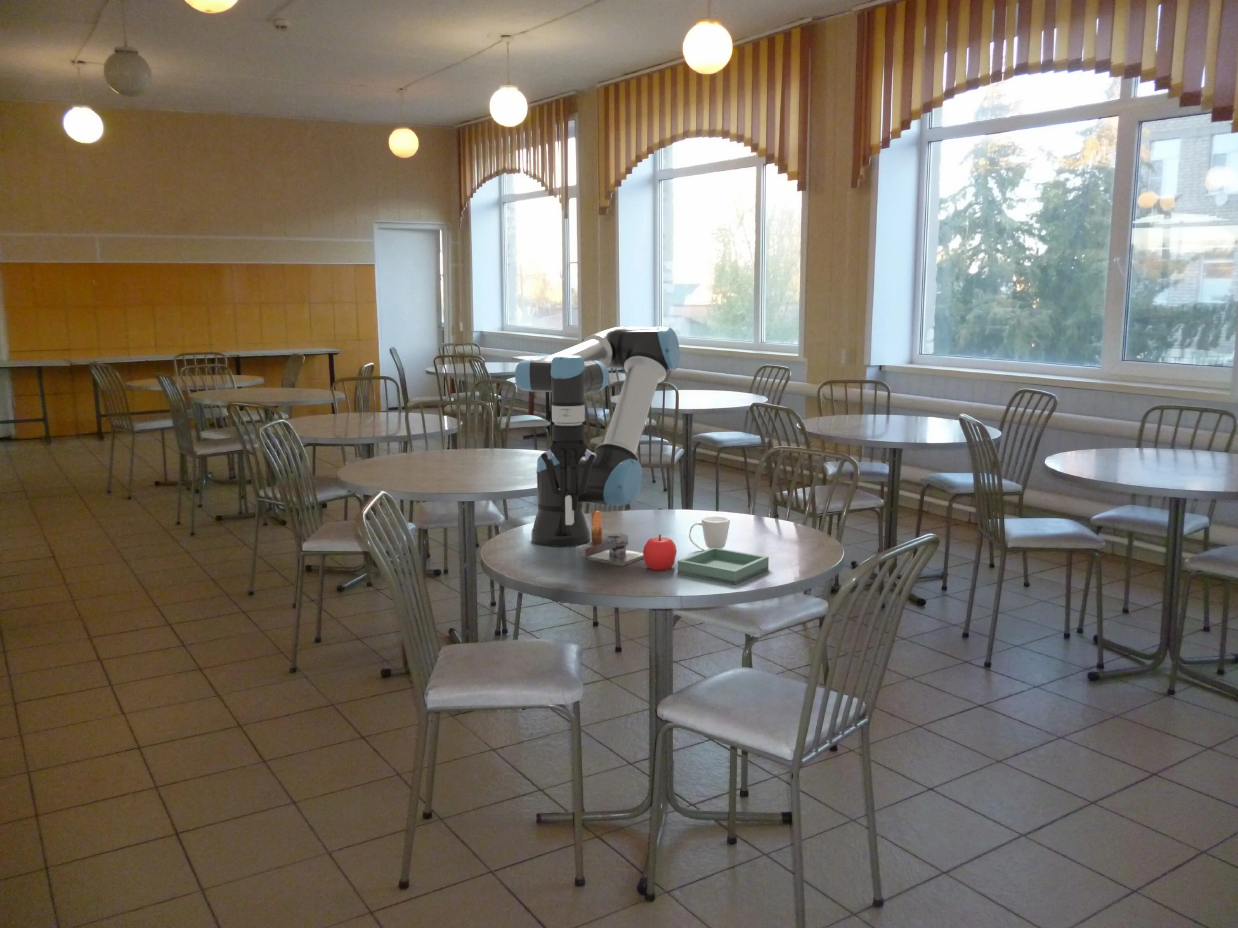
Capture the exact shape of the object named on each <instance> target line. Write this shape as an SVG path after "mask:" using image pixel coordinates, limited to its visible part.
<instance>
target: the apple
mask: <svg viewBox="0 0 1238 928" xmlns="http://www.w3.org/2000/svg"><path fill="white" fill-rule="evenodd" d="M661 536H662V535H661V534H658V537H652V538H649V539H648V540H647V541H646V543H645V544H644V546H643V551H642V553H643V556H644V558H643V560H644V564H645V566H646V567H647V568H648V569H650V570H652V571H653V570H654V571H660V572H661V571H667V570H669V569H670V568H672V567H673V566H674V565H675V561H676V556H677V546H676V543H675V542H674V541H673V539H671V538H668V537H661Z"/></svg>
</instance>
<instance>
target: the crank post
mask: <svg viewBox="0 0 1238 928" xmlns="http://www.w3.org/2000/svg"><path fill="white" fill-rule="evenodd" d="M587 558H588V560H589V561H594V562H598V563H604V564H609V565H614V566H618V567H623V566H626V565H630V564H632V563H635V562H637V561H639V560H644V556H643V552H639V551H633V550H627V546H622V547H615V548H612V549H609V550H606V551H603V552H600V553H597V554H594V555H591V556H588V557H587Z"/></svg>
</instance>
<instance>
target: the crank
mask: <svg viewBox="0 0 1238 928" xmlns="http://www.w3.org/2000/svg"><path fill="white" fill-rule="evenodd" d="M602 512H603V511H602V510H599V509H598V510H597V509H596V510H595V509H594V510H591V542H588V543H587V542H586V543H583V544H580V545H578V546H576V547H575V557H581V558H588V556H591V555H594V554H597V553H600V552H603V551H606V550H609V549H612V548H615V547H622V546H626V547H627V546H628V545H629V535H628V534H624V533H610V534H608V535H606V537H603V526H602V525H603V521H602V520H603V518H602V517H603V514H602Z"/></svg>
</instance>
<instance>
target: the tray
mask: <svg viewBox="0 0 1238 928" xmlns="http://www.w3.org/2000/svg"><path fill="white" fill-rule="evenodd" d="M706 549H707V550H704V551H703V550H701V551H700V552H697V553H693V554H692V555H689V556H686V557H684V558H681V559H679V560H677V574H678V575H683V576H687V577H688V576H689V577H694V578H700V579H703V580H710V581H713V582H720V583H724V584H728V585H729V584H730V585H734V586H735V585H738V584H740V583H742V582H745V581H747V580H748V579H751V578H754V577H755V576H758V575H759V574H762V573H764V572H766V571H768V570H769V559H770V557H769V556H766V555H760V554H754V553H749V552H741V551H736V550H732V549H725V548H722V549H720V548H714V547H712V548H710V549H708V548H706Z"/></svg>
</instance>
